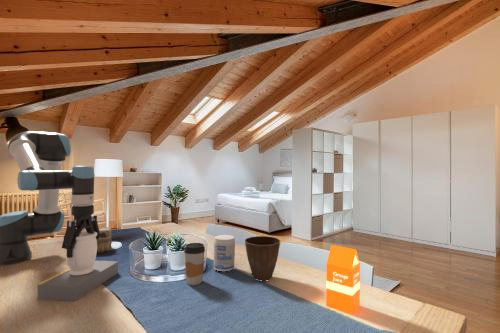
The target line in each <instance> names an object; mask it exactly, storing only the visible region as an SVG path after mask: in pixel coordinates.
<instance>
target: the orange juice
mask: <svg viewBox="0 0 500 333" xmlns="http://www.w3.org/2000/svg"><path fill="white" fill-rule="evenodd" d="M329 249H330V250H329V253H328V257H327V261H326V281H325V283H326V284H325V285H326V287H325V289H326V297H325V298H326V299H325V300H326V303H325V304H326V305H325V306H326V307H329V308H333V309H335V310H338V311H341V312H343V313H345V314H349V315H353V314H354V313H355V312H356V311H357V309H358V308H359V307H360V305H361V304H360V302H361V300H360V297H361V295H360V294H361V293H360V291H361V288H360V287H361V263H360V260H359V256H358V252H357V249H355V248H349V247H345V246H340V245H334V244H331V246H330V248H329ZM354 311H355V312H354Z"/></svg>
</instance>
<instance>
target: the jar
mask: <svg viewBox="0 0 500 333" xmlns="http://www.w3.org/2000/svg"><path fill="white" fill-rule="evenodd" d="M96 236H97V232H93V234H88V233H87V231H86V230H85V231H81V232H80V234H79V236H78V237H76V240H77V241H76V243H75V246H74V248H76V260H75V266H68V268H69V269H71V270H70V272H69V274H70V275H74V276H78V275H84V274H88V273H90V272H92V271H93V270H94V267H93V265H94V263H95V260H97V254H98V253H97V240H96ZM65 251H66V253H65V256H67V249H65Z"/></svg>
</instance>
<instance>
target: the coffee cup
mask: <svg viewBox="0 0 500 333" xmlns="http://www.w3.org/2000/svg"><path fill="white" fill-rule="evenodd" d="M205 248H206V247H205V244H204V243H201V242H191V243H187V244H185V247H184V250H183V252H184V268H185V278H186V279H185V280H186V283H187V285H189V286H197V285H200V284H201V283H202V282H203V277H204V276H203V275H204V266H205V265H204V263H205V252H206V249H205Z"/></svg>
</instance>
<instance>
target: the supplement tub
mask: <svg viewBox="0 0 500 333" xmlns="http://www.w3.org/2000/svg"><path fill="white" fill-rule="evenodd" d="M213 242H214V243H213V270H214V269H215V270H214V271H216V270H217V271H216V272H218V271H228V270H232V269H233V270H234V269H235V256H236V255H235V254H236V250H235V248H236V240H235V236H234V235H230V234H229V235H228V234H219V235H216V236H214V241H213ZM233 270H232V271H233Z"/></svg>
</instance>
